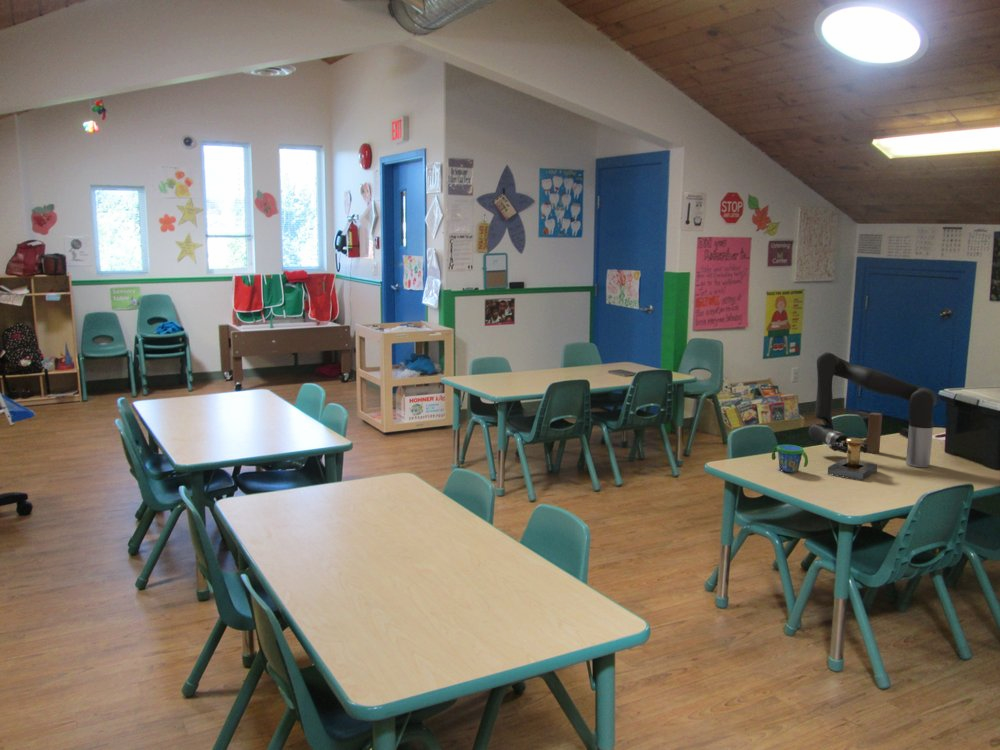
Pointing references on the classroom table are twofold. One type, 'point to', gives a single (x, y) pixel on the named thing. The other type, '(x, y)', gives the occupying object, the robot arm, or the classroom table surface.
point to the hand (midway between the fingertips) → (856, 450)
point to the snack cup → (789, 457)
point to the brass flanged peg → (853, 452)
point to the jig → (852, 470)
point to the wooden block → (874, 432)
